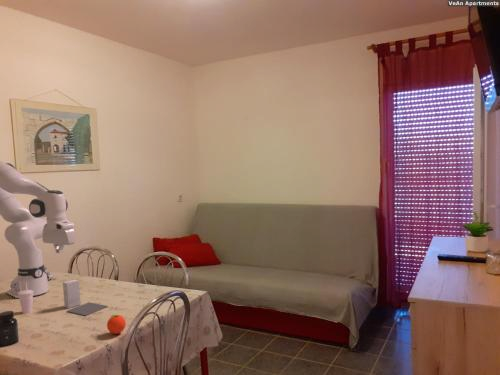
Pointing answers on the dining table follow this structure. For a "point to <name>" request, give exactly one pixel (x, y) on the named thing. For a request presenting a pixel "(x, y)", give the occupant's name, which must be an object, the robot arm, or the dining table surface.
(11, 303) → the dining table surface
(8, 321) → the supplement bottle
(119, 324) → the clementine
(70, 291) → the skincare box
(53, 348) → the dining table surface
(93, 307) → the mat
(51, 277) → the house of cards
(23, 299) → the smoothie
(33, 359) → the dining table surface
